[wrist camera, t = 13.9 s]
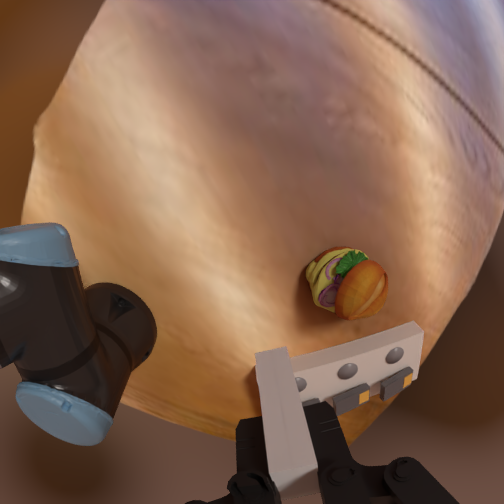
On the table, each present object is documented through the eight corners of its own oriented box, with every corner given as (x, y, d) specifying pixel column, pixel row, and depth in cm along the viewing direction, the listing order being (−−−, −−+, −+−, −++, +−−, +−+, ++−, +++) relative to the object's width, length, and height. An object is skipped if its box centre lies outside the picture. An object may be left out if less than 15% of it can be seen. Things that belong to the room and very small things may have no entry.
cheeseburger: (313, 232, 41) (354, 257, 32) (367, 244, 45) (409, 268, 36) (293, 296, 44) (325, 333, 35) (346, 301, 48) (382, 332, 39)
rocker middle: (333, 411, 46) (336, 416, 44) (332, 398, 44) (336, 403, 43) (365, 396, 47) (369, 401, 45) (366, 382, 45) (370, 387, 44)
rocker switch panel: (267, 408, 51) (270, 424, 47) (255, 365, 48) (256, 381, 44) (408, 367, 51) (417, 379, 47) (413, 320, 47) (424, 332, 43)
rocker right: (379, 397, 45) (383, 401, 44) (380, 383, 44) (385, 387, 43) (406, 380, 47) (411, 384, 45) (408, 366, 46) (413, 370, 44)
